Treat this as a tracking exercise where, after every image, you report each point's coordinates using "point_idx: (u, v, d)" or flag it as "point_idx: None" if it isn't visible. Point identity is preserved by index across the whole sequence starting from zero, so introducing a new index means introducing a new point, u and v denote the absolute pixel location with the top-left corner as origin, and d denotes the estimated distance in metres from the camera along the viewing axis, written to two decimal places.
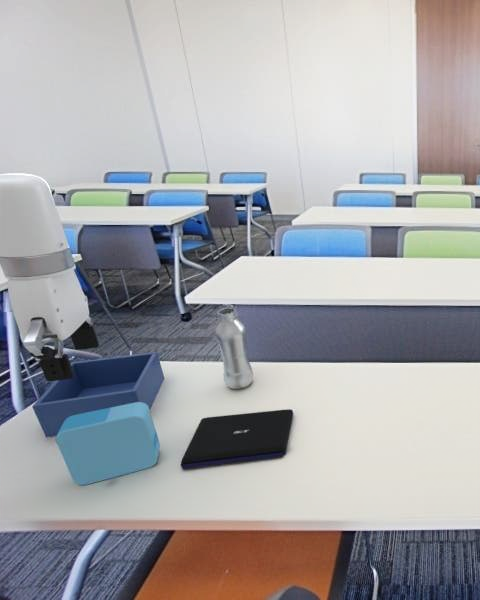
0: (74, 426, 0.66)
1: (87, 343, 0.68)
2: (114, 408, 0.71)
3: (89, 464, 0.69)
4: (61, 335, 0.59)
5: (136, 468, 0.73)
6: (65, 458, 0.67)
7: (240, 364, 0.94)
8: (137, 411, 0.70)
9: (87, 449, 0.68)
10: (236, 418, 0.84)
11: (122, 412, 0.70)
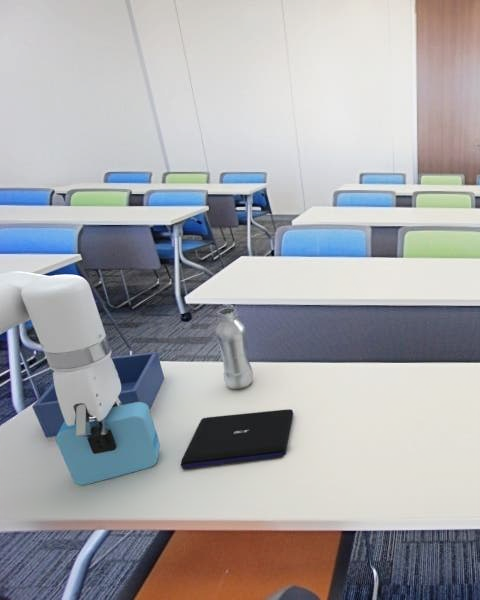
0: (74, 426, 0.66)
1: None
2: (114, 408, 0.71)
3: (89, 464, 0.69)
4: (99, 417, 0.64)
5: (136, 468, 0.73)
6: (65, 458, 0.67)
7: (240, 364, 0.94)
8: (137, 411, 0.70)
9: (87, 449, 0.68)
10: (236, 418, 0.84)
11: (122, 412, 0.70)
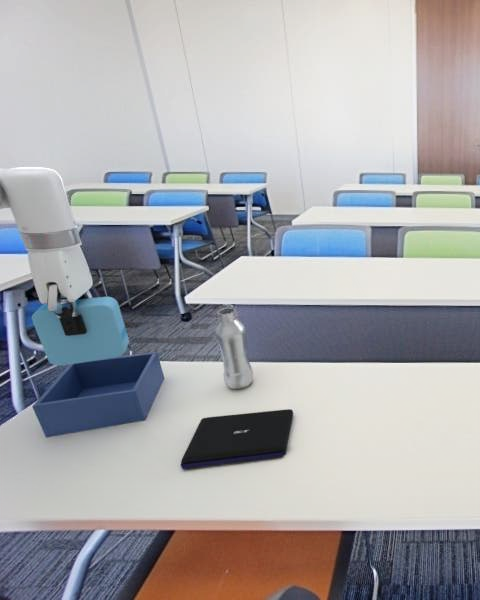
0: None
1: None
2: (86, 299, 0.79)
3: (62, 346, 0.77)
4: (70, 297, 0.73)
5: (105, 355, 0.81)
6: (40, 337, 0.75)
7: (240, 364, 0.94)
8: (106, 302, 0.79)
9: (60, 331, 0.76)
10: (236, 418, 0.84)
11: (93, 301, 0.78)
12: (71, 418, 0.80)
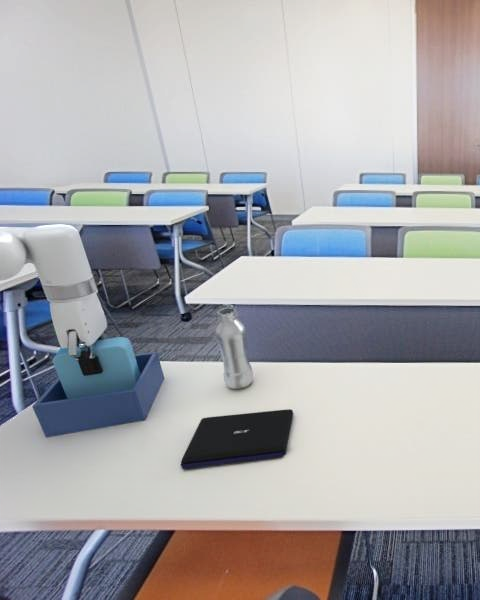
0: None
1: None
2: (101, 340, 0.85)
3: (80, 385, 0.83)
4: (88, 342, 0.79)
5: (119, 391, 0.87)
6: (60, 378, 0.81)
7: (240, 364, 0.94)
8: (120, 343, 0.85)
9: (78, 371, 0.82)
10: (236, 418, 0.84)
11: (108, 343, 0.84)
12: (71, 418, 0.80)
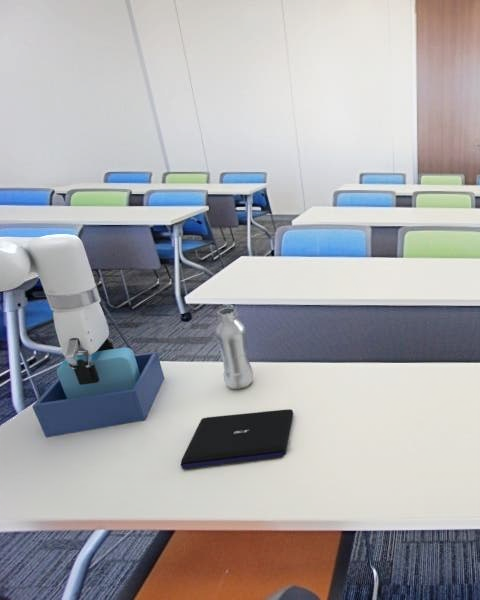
0: None
1: None
2: (104, 351, 0.86)
3: (84, 395, 0.84)
4: (90, 351, 0.80)
5: None
6: (64, 388, 0.82)
7: (240, 364, 0.94)
8: (123, 353, 0.86)
9: None
10: (236, 418, 0.84)
11: (111, 354, 0.86)
12: (71, 418, 0.80)
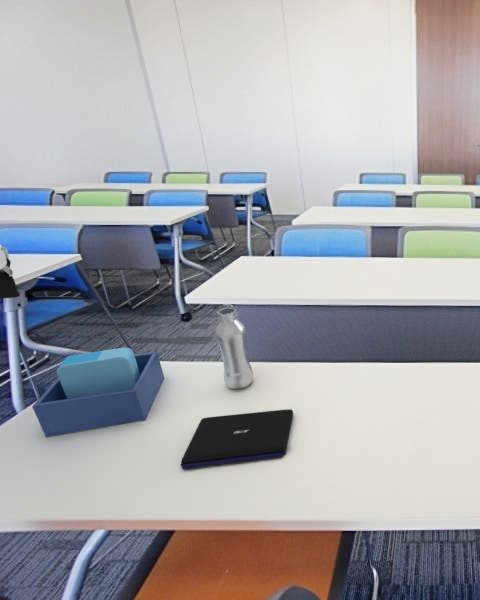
0: (72, 362, 0.82)
1: (7, 292, 0.72)
2: (104, 351, 0.86)
3: (84, 395, 0.84)
4: None
5: None
6: (64, 388, 0.82)
7: (240, 364, 0.94)
8: (123, 353, 0.86)
9: (82, 382, 0.83)
10: (236, 418, 0.84)
11: (111, 354, 0.86)
12: (71, 418, 0.80)
